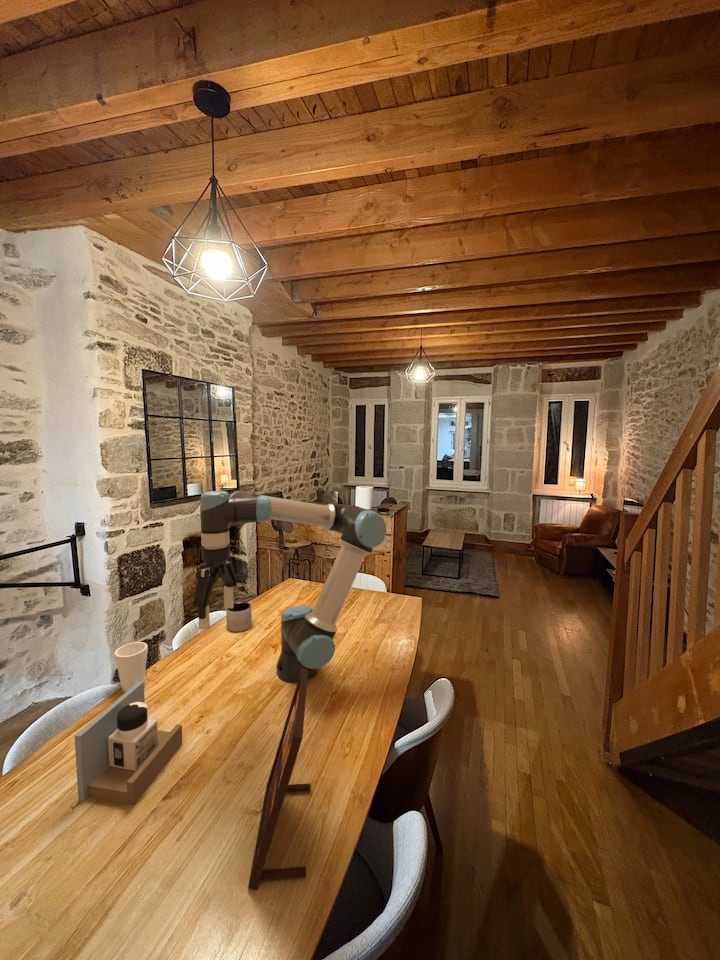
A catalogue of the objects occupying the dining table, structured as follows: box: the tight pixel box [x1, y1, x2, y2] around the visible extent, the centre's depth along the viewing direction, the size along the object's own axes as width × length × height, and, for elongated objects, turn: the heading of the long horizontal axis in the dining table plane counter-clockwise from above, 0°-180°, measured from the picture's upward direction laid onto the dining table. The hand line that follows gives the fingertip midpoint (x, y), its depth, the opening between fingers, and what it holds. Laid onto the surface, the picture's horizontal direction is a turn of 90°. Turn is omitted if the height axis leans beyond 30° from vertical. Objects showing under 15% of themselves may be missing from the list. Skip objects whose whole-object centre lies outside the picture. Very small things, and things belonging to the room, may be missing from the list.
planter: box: [225, 601, 253, 633], centre depth 169 cm, size 11×11×10 cm
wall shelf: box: [74, 681, 183, 806], centre depth 95 cm, size 13×20×16 cm, turn 171°
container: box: [108, 702, 158, 771], centre depth 95 cm, size 8×8×13 cm
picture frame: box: [247, 668, 312, 891], centre depth 79 cm, size 21×11×30 cm, turn 5°
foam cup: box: [114, 641, 149, 693], centre depth 127 cm, size 10×9×13 cm
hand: (217, 617), depth 109 cm, fingers open, 13 cm apart
